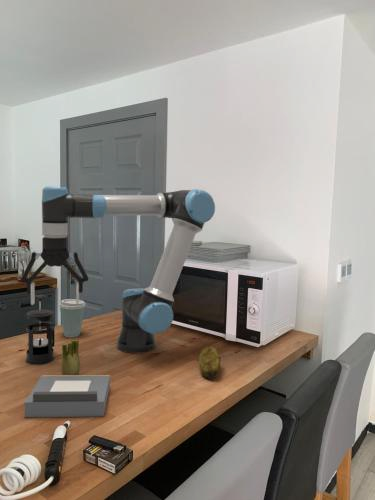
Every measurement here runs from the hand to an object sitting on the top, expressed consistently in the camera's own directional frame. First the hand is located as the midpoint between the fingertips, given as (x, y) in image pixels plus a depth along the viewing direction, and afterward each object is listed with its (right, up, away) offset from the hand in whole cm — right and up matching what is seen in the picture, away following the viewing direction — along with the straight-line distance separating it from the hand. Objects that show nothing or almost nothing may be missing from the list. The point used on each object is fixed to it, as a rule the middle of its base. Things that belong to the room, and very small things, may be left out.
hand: (55, 303), depth 126 cm
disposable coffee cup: (-6, -19, +40) cm, 45 cm away
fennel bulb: (+5, -24, 0) cm, 24 cm away
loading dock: (+9, -25, -15) cm, 31 cm away
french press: (-10, -22, +14) cm, 27 cm away
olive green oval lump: (+49, -25, +8) cm, 56 cm away
